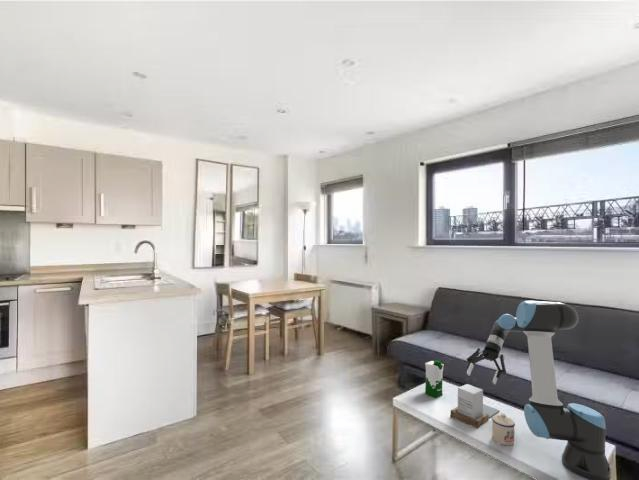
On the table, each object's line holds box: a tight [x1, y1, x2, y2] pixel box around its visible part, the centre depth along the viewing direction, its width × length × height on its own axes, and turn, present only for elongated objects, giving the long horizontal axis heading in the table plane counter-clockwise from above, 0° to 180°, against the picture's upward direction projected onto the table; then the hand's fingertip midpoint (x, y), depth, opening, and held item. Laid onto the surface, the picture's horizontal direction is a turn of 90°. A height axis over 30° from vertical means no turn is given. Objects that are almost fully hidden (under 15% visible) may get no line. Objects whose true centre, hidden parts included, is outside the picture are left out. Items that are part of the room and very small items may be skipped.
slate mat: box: [483, 403, 501, 419], centre depth 176 cm, size 12×12×1 cm
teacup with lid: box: [491, 412, 516, 447], centre depth 149 cm, size 12×9×12 cm
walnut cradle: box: [450, 406, 489, 429], centre depth 167 cm, size 12×13×3 cm
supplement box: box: [457, 383, 484, 420], centre depth 168 cm, size 9×9×15 cm
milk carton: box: [424, 359, 445, 399], centre depth 194 cm, size 9×9×20 cm
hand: (480, 378), depth 175 cm, fingers open, 13 cm apart
